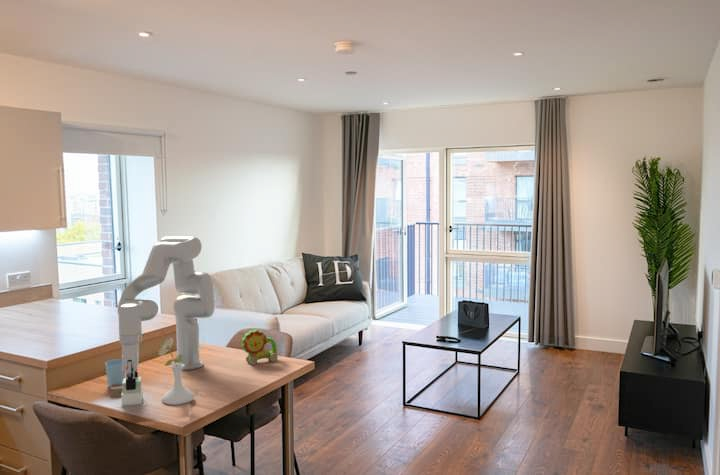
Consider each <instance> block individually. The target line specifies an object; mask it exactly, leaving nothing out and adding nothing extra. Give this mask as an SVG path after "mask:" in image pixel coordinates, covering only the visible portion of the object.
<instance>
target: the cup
mask: <svg viewBox="0 0 720 475" xmlns="http://www.w3.org/2000/svg"><path fill="white" fill-rule="evenodd" d="M104 366H105V372H106V379H107V384H108V388H111V386H112V385H113V384H122V383H123V379H124V378H126V370H125V371H124V372H123V371H122V358H119V359H117V358H115V359H109V360H108V361H106V362H104Z"/></svg>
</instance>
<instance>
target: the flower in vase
mask: <svg viewBox="0 0 720 475" xmlns="http://www.w3.org/2000/svg"><path fill="white" fill-rule="evenodd" d="M174 342H175V341H174V338H172V336H170V337H169V338H166V340H165V341H164V343H163V344H161V346H160V347H161V348H160V349H159V350H157V353H158V355H157V356H160V357H162V356H164V355H165V354H166V353H167V352H169V353H170V355H171V357H172V358H171V359H169V360H168V361H166V362H165V364H164V367H167V366H170V368H171V369H172V372H173V377H174V384H173V386H172V387H171V388H170V389H169V390H167V392H165V393H164V395H163V396H162V398H161V401H162V402H163V403H164V405H165V404H166V405H169V406H176V405H177V406H178V405H184V404H188V403H189V402H191V401H193V399H194V398H195V394H194V392H192V391H191V390H190V389H188V388H187V387H186V386H184V385H183V383H182V372H183V370H182V369H183V367H184V366H185V365H184V364H176V363H178V362H180V361H181V360H182V357H181V354H180V355H178V356H177V355H176V357H174V355H173V353H172V351H171V348H172V346H173V344H174ZM173 362H174V363H175V364H174V363H173ZM172 363H173V364H172Z"/></svg>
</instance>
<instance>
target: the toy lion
mask: <svg viewBox="0 0 720 475" xmlns="http://www.w3.org/2000/svg"><path fill="white" fill-rule="evenodd" d="M267 343H270V344H271V350H270V351H269V350H267V349H265V346H266V344H267ZM241 348H242V349H243V351H244V352H245V353H247V355H246V357H245V361H246V362H247V363H249V364H250V365H251V366H254V365H256V364H257V363H258V361H260V360H262V359H268V360H269V361H271V362H276V361H277V360H278V354H277V344H276V342H275V340H274V339H272V338H271V337H268V336H267V335H266V334H265V333H264V332H263V331H261V330H258V329H253V330H249V331H248V332H247V333H245V334H244V335H243V337H242V339H241Z"/></svg>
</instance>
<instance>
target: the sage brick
mask: <svg viewBox="0 0 720 475" xmlns="http://www.w3.org/2000/svg"><path fill="white" fill-rule="evenodd" d="M135 378H136V389H135V390H126V377H125V378H124V379H123V383H122V391H123V394H130V393H140V392H141V387H143V386H142V376H138V377H135Z"/></svg>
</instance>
